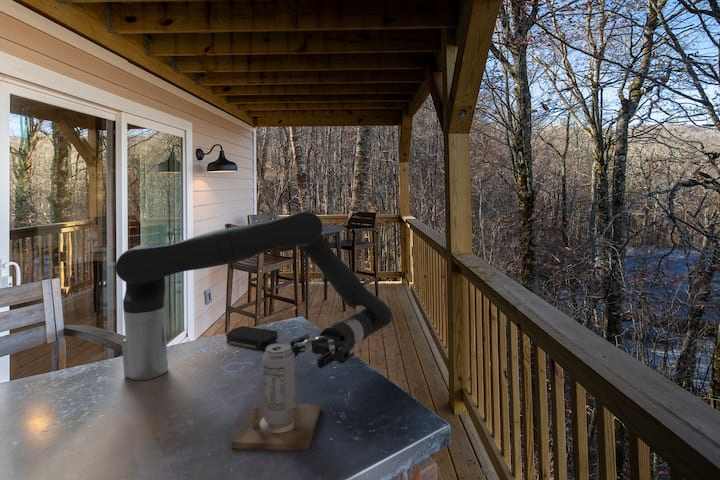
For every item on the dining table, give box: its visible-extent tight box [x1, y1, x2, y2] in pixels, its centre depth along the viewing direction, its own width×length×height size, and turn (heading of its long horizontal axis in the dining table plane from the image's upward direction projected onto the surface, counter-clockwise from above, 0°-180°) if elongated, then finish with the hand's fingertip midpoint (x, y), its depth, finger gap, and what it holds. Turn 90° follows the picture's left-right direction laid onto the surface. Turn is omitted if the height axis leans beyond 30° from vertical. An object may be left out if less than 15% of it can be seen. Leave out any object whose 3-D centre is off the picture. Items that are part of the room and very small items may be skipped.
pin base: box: [230, 402, 322, 452], centre depth 79 cm, size 14×14×5 cm
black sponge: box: [225, 325, 279, 350], centre depth 127 cm, size 16×8×4 cm, turn 65°
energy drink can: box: [262, 342, 296, 428], centre depth 79 cm, size 6×6×15 cm
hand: (302, 359), depth 85 cm, fingers open, 8 cm apart
